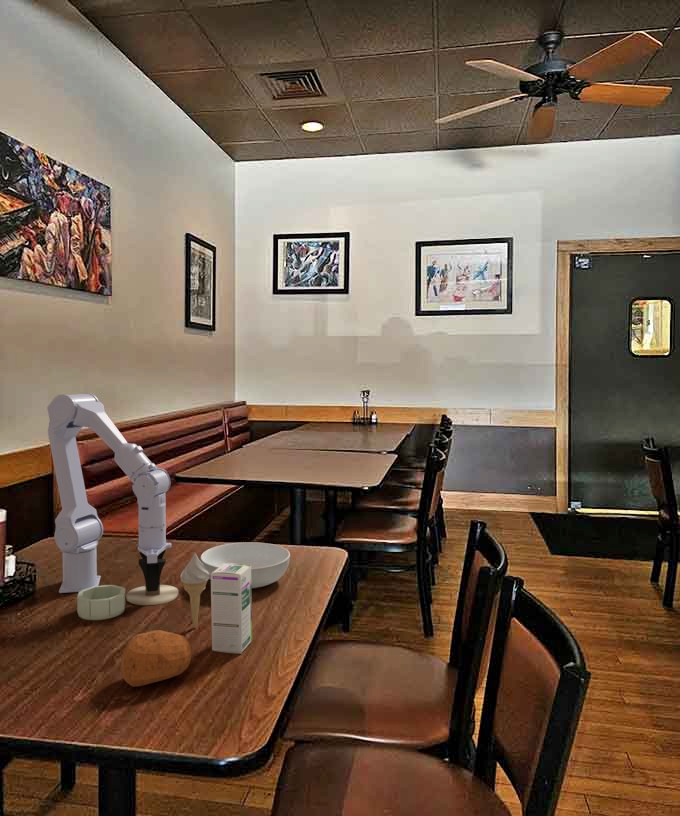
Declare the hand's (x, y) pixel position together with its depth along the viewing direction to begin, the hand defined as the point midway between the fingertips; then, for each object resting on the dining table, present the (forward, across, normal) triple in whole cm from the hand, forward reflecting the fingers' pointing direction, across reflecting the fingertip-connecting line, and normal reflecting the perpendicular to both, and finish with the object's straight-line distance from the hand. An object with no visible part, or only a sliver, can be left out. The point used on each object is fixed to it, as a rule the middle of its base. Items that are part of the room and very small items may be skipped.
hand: (152, 586), depth 142 cm
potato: (+2, -39, -1) cm, 39 cm away
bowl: (+2, -7, +10) cm, 12 cm away
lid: (+2, 0, 0) cm, 2 cm away
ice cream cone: (+2, -20, -8) cm, 22 cm away
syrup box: (+2, -30, -14) cm, 33 cm away
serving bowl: (+2, +4, -21) cm, 22 cm away
